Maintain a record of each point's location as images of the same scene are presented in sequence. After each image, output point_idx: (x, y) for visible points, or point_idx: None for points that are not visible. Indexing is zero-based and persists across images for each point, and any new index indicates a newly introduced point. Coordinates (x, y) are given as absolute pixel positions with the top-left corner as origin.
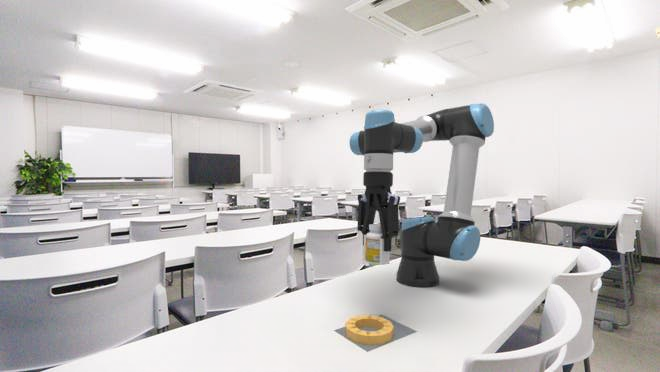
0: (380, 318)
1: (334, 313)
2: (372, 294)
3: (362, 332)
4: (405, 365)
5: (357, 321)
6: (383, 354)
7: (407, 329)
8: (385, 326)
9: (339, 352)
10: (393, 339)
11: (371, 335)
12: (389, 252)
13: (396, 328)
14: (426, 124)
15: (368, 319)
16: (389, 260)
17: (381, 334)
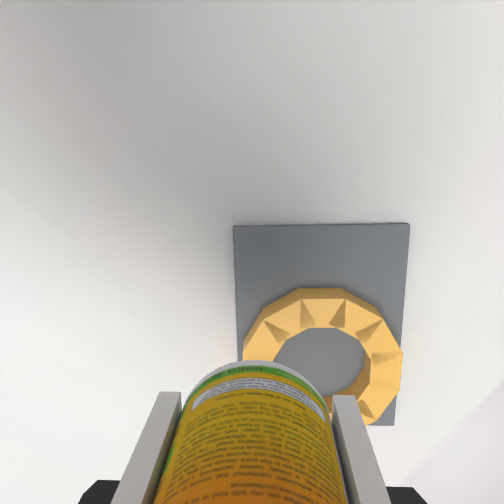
0: (307, 310)
1: (121, 344)
2: (13, 83)
3: None
4: (494, 383)
5: None
6: (420, 391)
7: (379, 241)
8: (365, 340)
9: None
10: (395, 327)
11: (380, 411)
12: (374, 455)
13: (350, 267)
14: None
15: (283, 342)
16: (358, 408)
17: (395, 385)
